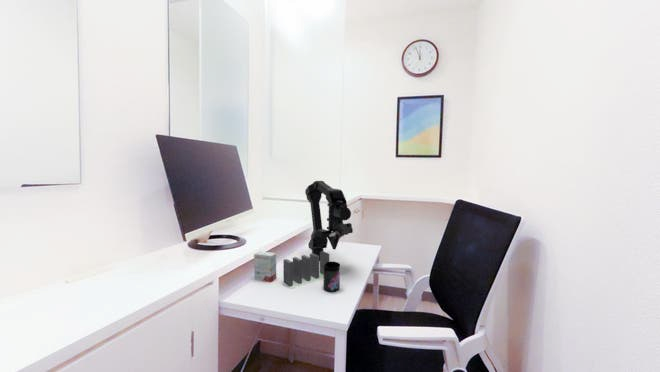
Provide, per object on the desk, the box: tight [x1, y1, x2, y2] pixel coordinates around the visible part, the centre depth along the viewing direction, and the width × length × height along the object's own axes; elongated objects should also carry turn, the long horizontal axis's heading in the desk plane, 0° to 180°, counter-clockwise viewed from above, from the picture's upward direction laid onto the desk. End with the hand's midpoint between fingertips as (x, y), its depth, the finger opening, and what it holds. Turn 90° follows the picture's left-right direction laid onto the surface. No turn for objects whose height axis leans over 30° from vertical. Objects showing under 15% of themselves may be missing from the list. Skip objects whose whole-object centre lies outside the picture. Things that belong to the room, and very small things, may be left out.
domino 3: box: [300, 254, 311, 281], centre depth 125 cm, size 5×2×10 cm, turn 38°
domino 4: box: [309, 252, 320, 279], centre depth 128 cm, size 5×2×10 cm, turn 38°
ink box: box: [253, 250, 277, 283], centre depth 125 cm, size 9×5×12 cm, turn 71°
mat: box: [280, 270, 323, 289], centre depth 127 cm, size 9×24×1 cm, turn 128°
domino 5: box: [319, 250, 330, 274], centre depth 131 cm, size 5×2×10 cm, turn 39°
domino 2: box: [292, 256, 302, 284], centre depth 122 cm, size 5×2×10 cm, turn 38°
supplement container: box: [322, 261, 341, 293], centre depth 116 cm, size 7×7×10 cm
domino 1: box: [282, 258, 293, 288], centre depth 120 cm, size 5×2×10 cm, turn 38°
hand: (334, 249), depth 135 cm, fingers closed
